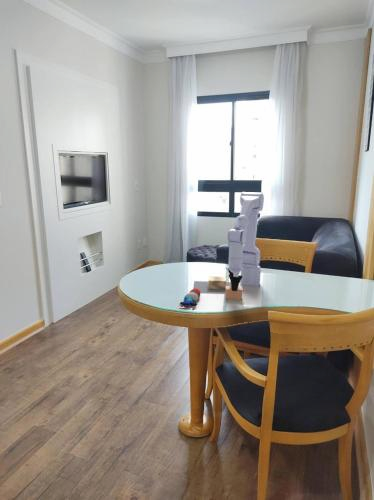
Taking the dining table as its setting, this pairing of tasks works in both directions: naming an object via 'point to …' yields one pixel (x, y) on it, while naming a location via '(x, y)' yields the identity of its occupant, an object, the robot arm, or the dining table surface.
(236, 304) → the dining table surface
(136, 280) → the dining table surface
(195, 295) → the toy figure
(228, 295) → the terracotta brick
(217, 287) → the oak brick
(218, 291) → the build plate
